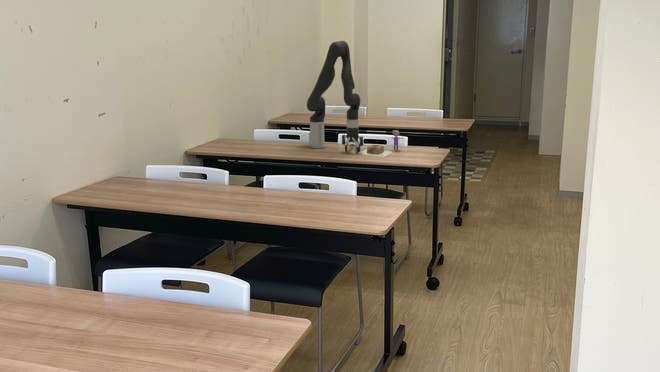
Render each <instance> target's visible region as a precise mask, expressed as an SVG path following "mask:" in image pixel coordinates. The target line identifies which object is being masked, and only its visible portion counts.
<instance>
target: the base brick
mask: <svg viewBox="0 0 660 372" xmlns="http://www.w3.org/2000/svg"><path fill="white" fill-rule="evenodd" d="M366 149H367V153H368V154H377V155H379V154H381V153H383V152H384V151H385V145H380V144H373V143H372V144H371V145H369V146H367V147H366Z"/></svg>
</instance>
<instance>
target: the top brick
mask: <svg viewBox="0 0 660 372" xmlns="http://www.w3.org/2000/svg"><path fill="white" fill-rule="evenodd" d="M347 154H353V155H355V154H358V153H357V145H356V144H355V143H350V144H348V146H347Z"/></svg>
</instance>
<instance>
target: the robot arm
mask: <svg viewBox="0 0 660 372" xmlns="http://www.w3.org/2000/svg"><path fill="white" fill-rule="evenodd" d="M338 58H340V59H341V61H342V62H341V63H342V64H341V65H342V68H341V75H340V78H341V79H340V80H341V84H342V87H343V101H344V103H345V105H346V106H347V107H349V109H347V110H346V121H345V122H346V127H345V128H346V131H345V132H346V133H345V134H342V135H341V144H342V145H344V151H345V152H347V146H348V145H350V144H349V143H352V144H355V145H357V153H356V154H358V153H360V152H361V147H363V146H364V136H359V125H360V123H359V109H360V105H361V97H360V95H359V94H358V93H356V92H355V93H353V92H354V89H355V88H356V87H355V86H356V85H355V80H354V77H353V73H352V65H351V54H350V47H349V44H348V42H347V41H345V40H339V41H338V40H337V41H333V42H332V43H331V44H330V45H329V47H328V51H327V53H326V57H325V61H324V63H323V66H322V68H321V70H320V73H319V75H318V77H317V81H316V83H315V85H314V87H313V90H312V91H311V93H310V95H309V97H308V99H307V101H306V109H307V110H308V111H309V112H314V113H313V114H312V115H311V116H310V117H309V132H308V145H309V148H312V149H323V148H325V117H326V101H325V98H324V97H323V94H324V93H325V92H326V91H327V90H328V89H329V88H330V87H331V86H332V84H333V82H334V79H335V77H336V69H335V65H336V62H337V60H338ZM346 139H347V140H346Z"/></svg>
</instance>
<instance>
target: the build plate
mask: <svg viewBox="0 0 660 372" xmlns="http://www.w3.org/2000/svg"><path fill="white" fill-rule="evenodd" d="M392 153H393V151H391V150H384V152H383V153H381V154H379V155H377V154H368V153H367V148H366V149H364V150H362V151H360V152H359V153H357V154H358V155H364V156H365V155H366V156H375V157H382V158H383V157H386V156H388V155H390V154H392Z"/></svg>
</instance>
